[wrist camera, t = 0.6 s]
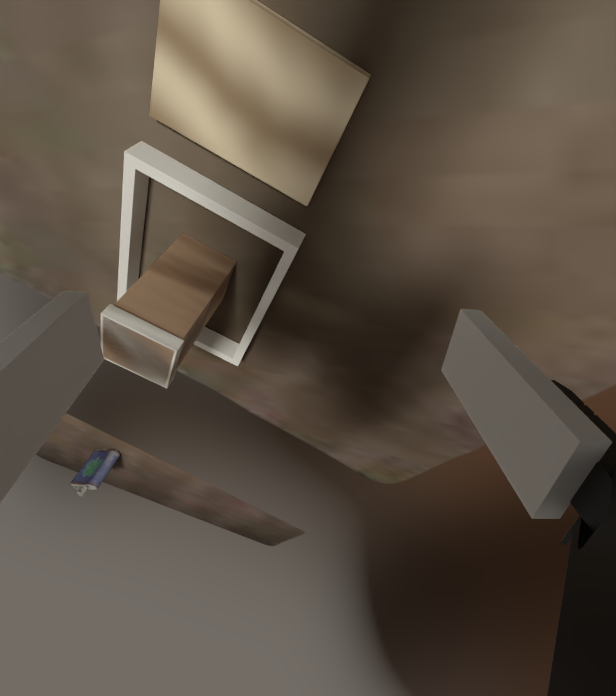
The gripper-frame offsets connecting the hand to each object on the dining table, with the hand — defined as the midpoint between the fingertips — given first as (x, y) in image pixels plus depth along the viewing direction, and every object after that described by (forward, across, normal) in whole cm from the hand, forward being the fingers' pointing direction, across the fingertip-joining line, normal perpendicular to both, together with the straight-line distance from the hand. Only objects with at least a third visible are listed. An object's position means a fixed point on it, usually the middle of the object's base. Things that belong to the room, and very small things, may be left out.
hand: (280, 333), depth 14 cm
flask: (+54, -39, -65) cm, 93 cm away
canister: (+28, -8, -8) cm, 30 cm away
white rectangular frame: (+28, -8, -8) cm, 30 cm away
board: (+21, -2, +8) cm, 23 cm away
